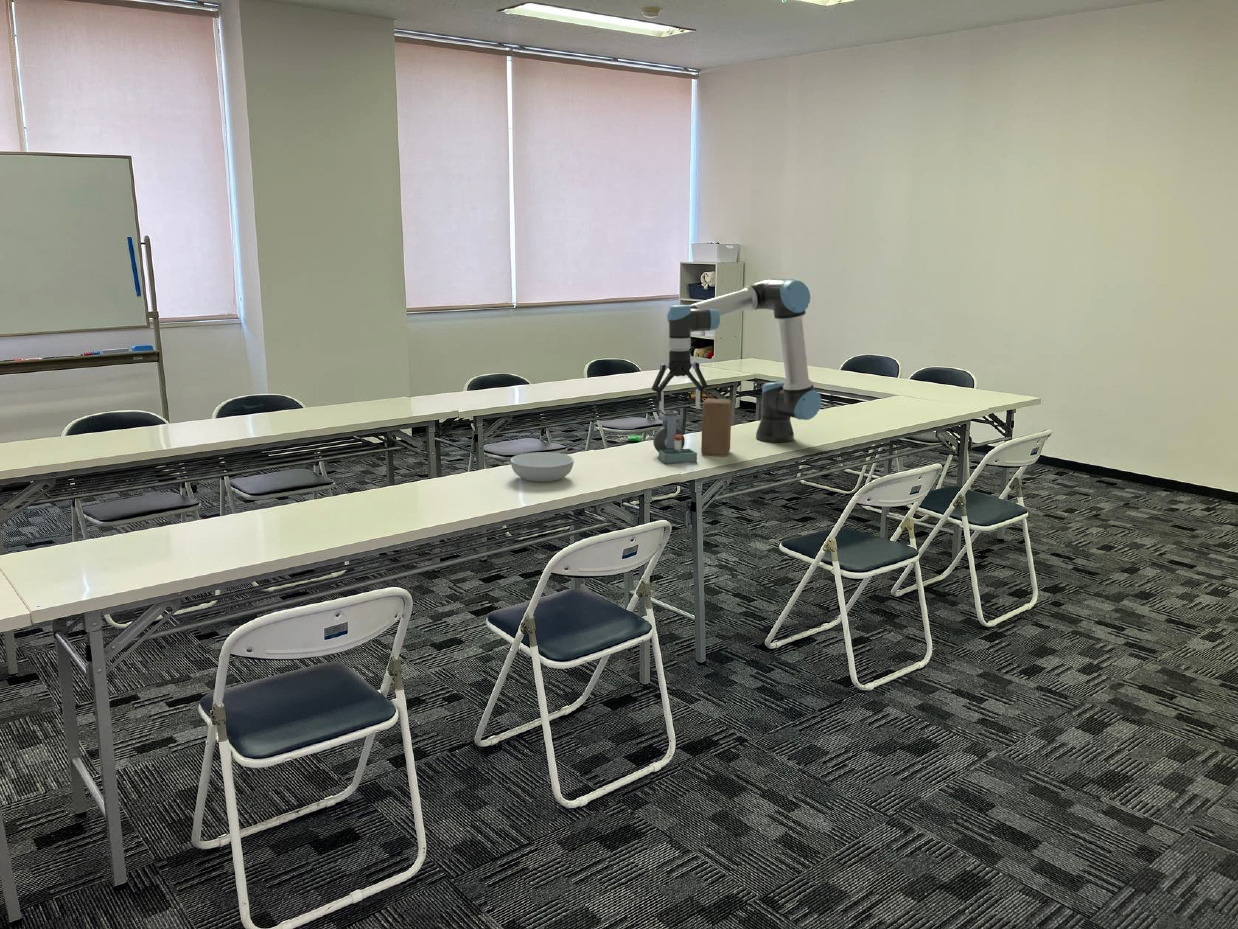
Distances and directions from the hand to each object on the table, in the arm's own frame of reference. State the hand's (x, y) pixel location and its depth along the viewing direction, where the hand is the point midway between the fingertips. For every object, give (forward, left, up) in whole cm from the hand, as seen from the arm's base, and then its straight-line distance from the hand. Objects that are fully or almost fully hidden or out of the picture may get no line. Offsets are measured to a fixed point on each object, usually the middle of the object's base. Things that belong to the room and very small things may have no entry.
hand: (679, 409), depth 331 cm
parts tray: (0, 0, -19) cm, 19 cm away
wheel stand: (+1, -9, -19) cm, 21 cm away
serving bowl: (+53, +15, -19) cm, 58 cm away
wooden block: (-18, -9, -19) cm, 27 cm away
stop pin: (0, 0, -18) cm, 18 cm away
